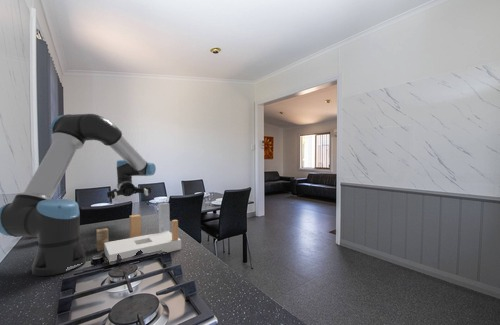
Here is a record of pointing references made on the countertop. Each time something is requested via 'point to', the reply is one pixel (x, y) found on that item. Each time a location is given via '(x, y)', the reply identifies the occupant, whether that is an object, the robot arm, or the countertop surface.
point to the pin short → (101, 238)
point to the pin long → (164, 217)
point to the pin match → (135, 226)
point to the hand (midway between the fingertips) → (132, 194)
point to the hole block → (144, 244)
